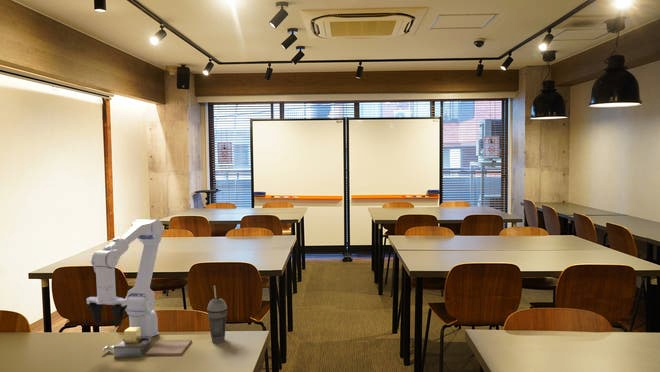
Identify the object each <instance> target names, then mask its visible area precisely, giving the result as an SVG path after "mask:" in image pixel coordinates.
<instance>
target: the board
mask: <svg viewBox="0 0 660 372" xmlns="http://www.w3.org/2000/svg"><path fill="white" fill-rule="evenodd" d="M192 341H193V339H160V340H159V339H158V340H157V341H156V342H155V343H153V345H151V347H150V348H149V349H148V350H147V351H146V352H145V353H144V354H145V356H146V357H162V356H163V357H165V356H166V357H167V356H168V357H169V356H170V357H172V356H174V357H175V356H182V355H183V354H184V352H185V351H186V350H187V349H188V348H189V346H190V345H191V343H192Z"/></svg>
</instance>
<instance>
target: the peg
mask: <svg viewBox="0 0 660 372" xmlns="http://www.w3.org/2000/svg"><path fill="white" fill-rule="evenodd" d="M123 338H124V343H125V344H140V343H141V327H130V326H129V327H127V328H126V329H125V330H123Z"/></svg>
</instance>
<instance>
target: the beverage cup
mask: <svg viewBox="0 0 660 372" xmlns="http://www.w3.org/2000/svg"><path fill="white" fill-rule="evenodd" d="M213 292H214V298H213V299H211V300H210V301H209V303H207V304H208V305H207V307H206V308H207V309H206V312H207V315H208V316H207V317H208V322H209V331H210V338H211V343H215V344H220V343H223V342H225V338H226V326H227V325H226V324H227V314H228V313H227V312H228V307H227V306H228V305H227V303H226V300H224V299H223V298H220V297H217V289H216V285H213Z"/></svg>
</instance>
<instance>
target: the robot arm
mask: <svg viewBox="0 0 660 372" xmlns="http://www.w3.org/2000/svg"><path fill="white" fill-rule="evenodd" d="M163 232H164V226H163V223H162V221H161V220H160V219H140V218H139V219H138V218H136V219H135V220H134V221H132V223H131V226H130V227H129V229H128V230H127V231H126V232H125V233H124V234H123V235H122V237H114V238H113V239H112V241H111V242H110V243H108V244H107V245H106V246H105V247H104V248H103V249H102V250H97V251H95V252H94V253H93V255H92V258H91V260H90V262H91V266H92V267H93V271H94V273H95V277H96V278H95V279H96V282H95V283H96V296H89V297H87V298H86V304H87V306H86V309H87V311H88V312H89V313H90V315H91V317H92V318H93V322H94V325H95V326H99V325H102V320H103V317H102V315H103V314H102V312H103V306H104V305H108V306H109V305H110V306H112V307H111V308H110V311H111V313H112V316H113V324H114V325H113V326H114V327H115V328H118V327H120V326H121V325H122V321H123V317H124V313H125V312H126V313H127V315H128V318H129V319H128V320H129V322H128V323H129V327H141V336H151V338H152V337H155V336H158V335H160V332H159V323H158V322H159V321H158V315H157V312H156V310H154V308H155V303H156V302H155V297H156V296H155V295H156V293H155V292H154V290H152V289H151V287H150V286H151V283H152V278H153V273H154V269H155V264H156V259H157V254H158V249H159V246H160V242H162V241H161V240H162V236H163ZM136 239H137V240H138V241H139V242H140V243H142V244H143V249H142V252H141V257H140V262H139V266H138V271H137V275H136V279H135V284H134V286H133V287H131V288H130V289H129V290H127V294H126V296H125V298H123V297H119V296H117V292H116V291H117V290H116V287H117V286H116V272H115V271H116V268H115V267H116V266H117V265H118V263H119V260H120V258H121V256H123V255H124V254H125V253H126V252H127V251H128V250H129V248H130V246H129V245H130V244H131V243H133V242H134V241H135V240H136Z"/></svg>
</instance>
